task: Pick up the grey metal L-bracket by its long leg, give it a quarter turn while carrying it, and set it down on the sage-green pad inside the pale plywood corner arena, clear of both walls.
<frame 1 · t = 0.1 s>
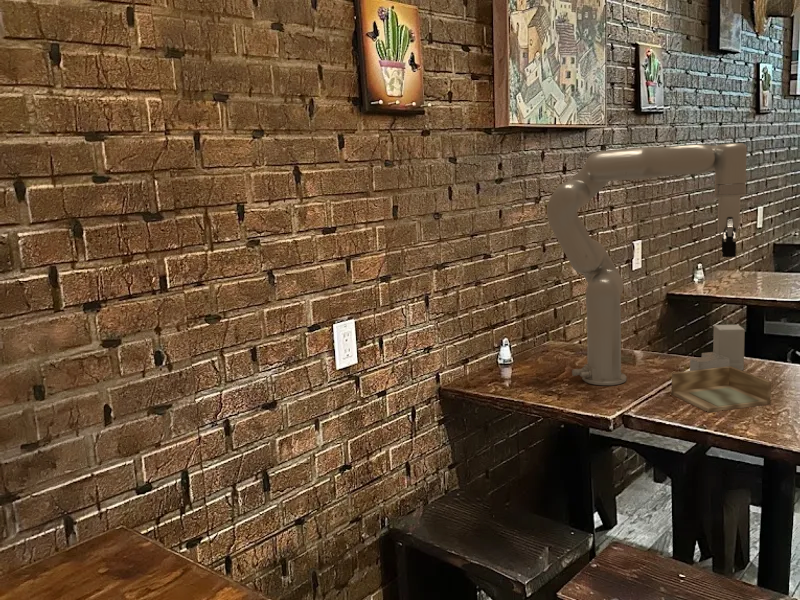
hand: (728, 254, 193), 37 cm above the table, tool pointing down, fingers open, 9 cm apart
bracket: (709, 378, 207), on the table
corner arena: (719, 399, 189), on the table
supplement box: (727, 367, 218), on the table
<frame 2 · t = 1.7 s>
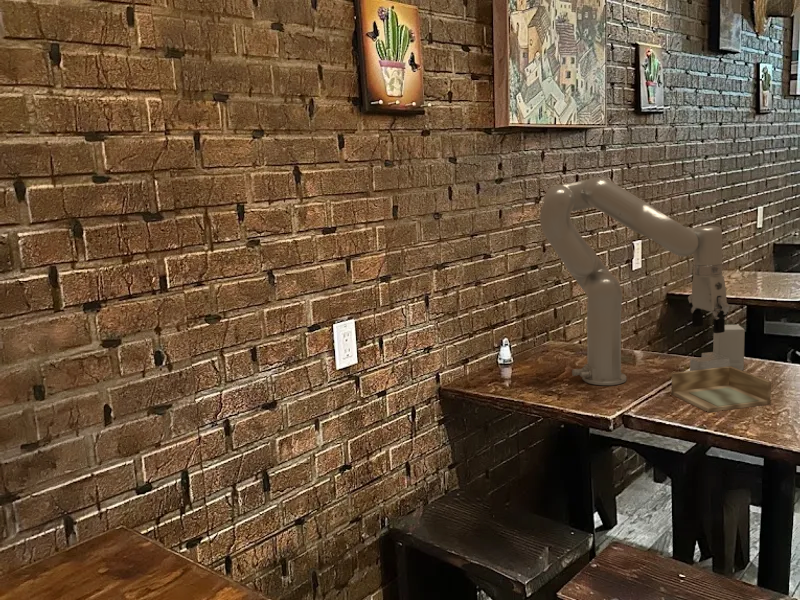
hand: (708, 329, 205), 15 cm above the table, tool pointing down, fingers open, 9 cm apart
nothing on the table moved.
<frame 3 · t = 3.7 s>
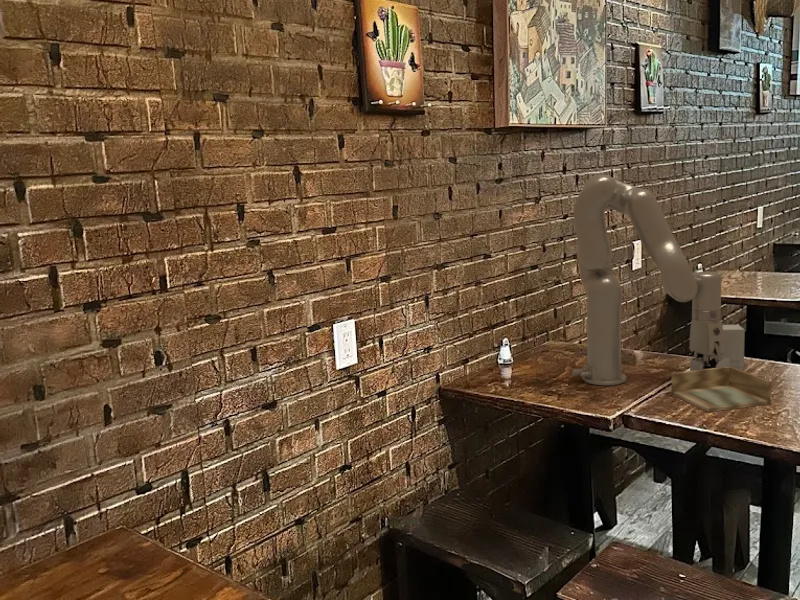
hand: (704, 376, 207), 1 cm above the table, tool pointing down, fingers closed on bracket, 4 cm apart
bracket: (709, 378, 207), on the table, touching gripper
everything else where it was.
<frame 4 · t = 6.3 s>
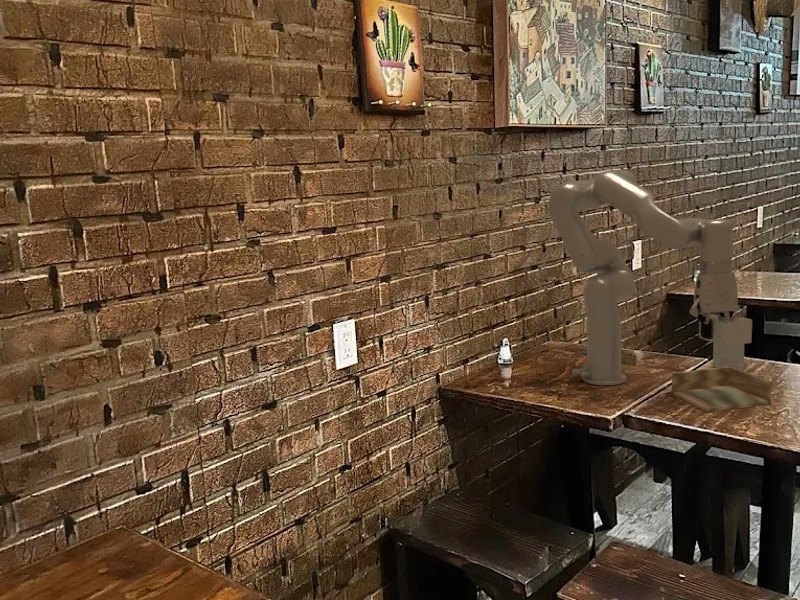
hand: (713, 336, 186), 17 cm above the table, tool pointing down, fingers closed on bracket, 4 cm apart
bracket: (717, 340, 185), point 16 cm above the table, touching gripper
everything else where it was.
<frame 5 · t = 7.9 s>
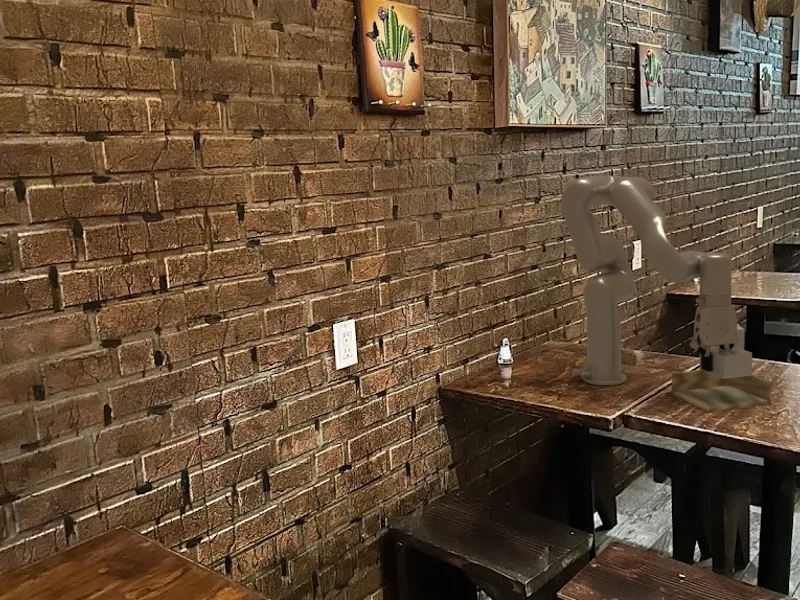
hand: (714, 368, 187), 9 cm above the table, tool pointing down, fingers closed on bracket, 4 cm apart
bracket: (718, 373, 186), point 8 cm above the table, touching gripper
everything else where it was.
when the fingers open (3 cm above the table, at t = 9.2 s): bracket drops 1 cm, resting on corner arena.
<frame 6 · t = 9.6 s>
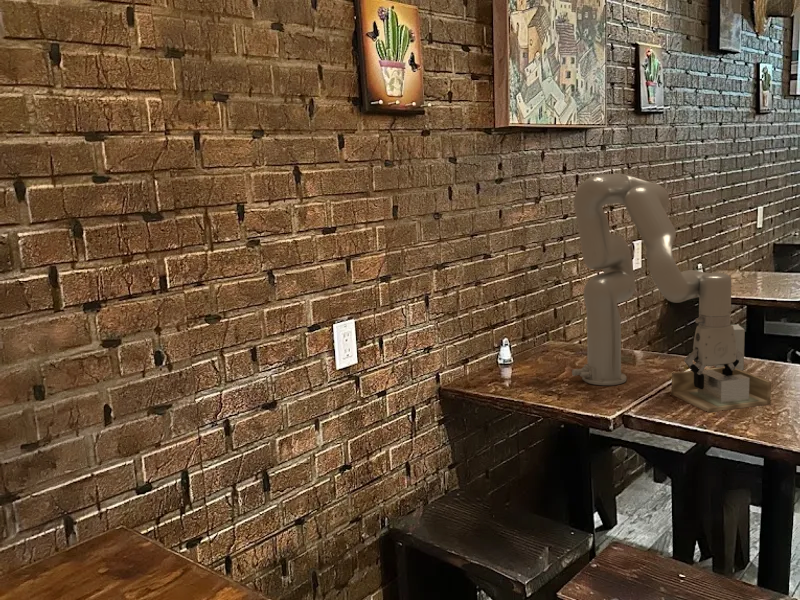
hand: (713, 385, 188), 4 cm above the table, tool pointing down, fingers open, 7 cm apart
bracket: (715, 397, 187), point 1 cm above the table, touching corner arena
everything else where it was.
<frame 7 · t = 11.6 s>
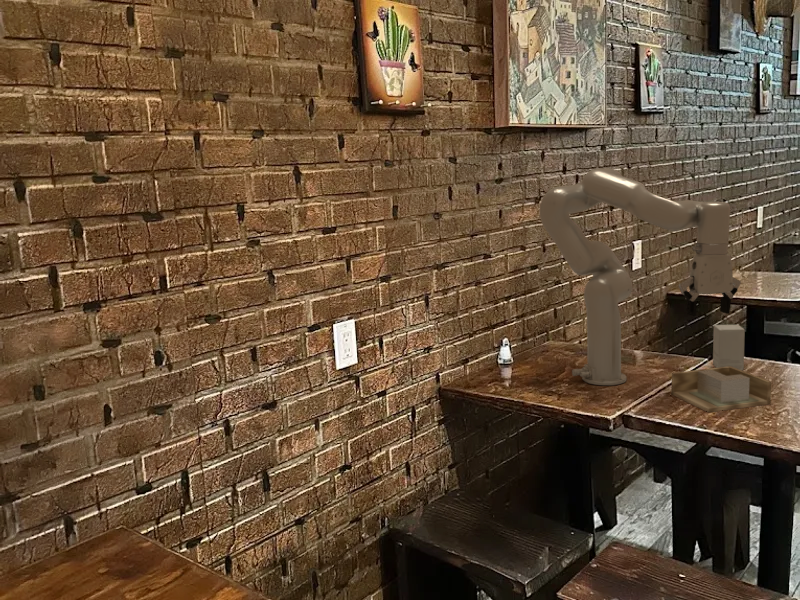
hand: (708, 313, 189), 22 cm above the table, tool pointing down, fingers open, 9 cm apart
nothing on the table moved.
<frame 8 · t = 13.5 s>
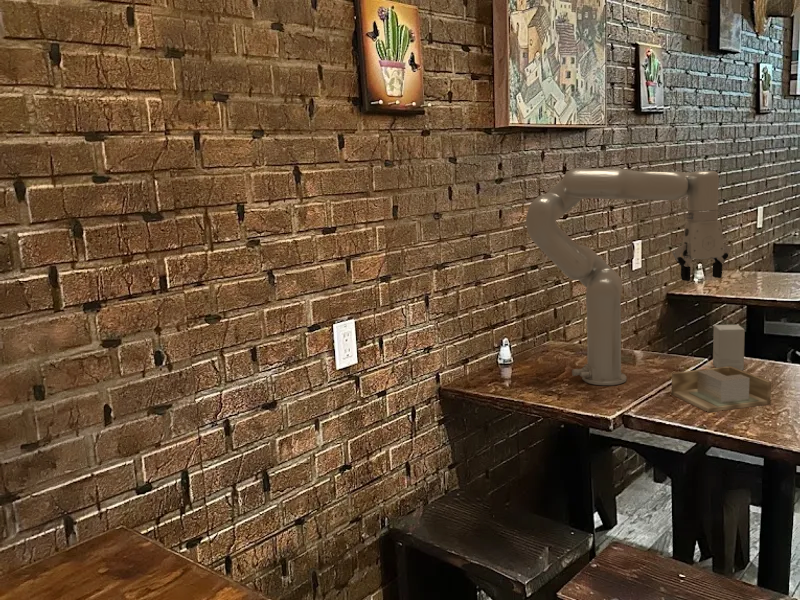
hand: (701, 278, 197), 30 cm above the table, tool pointing down, fingers open, 9 cm apart
nothing on the table moved.
at the end: bracket inside the target area (0.6 cm from its centre), point 1.2 cm above the table; bracket tilted 0°; the gripper is holding nothing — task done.
